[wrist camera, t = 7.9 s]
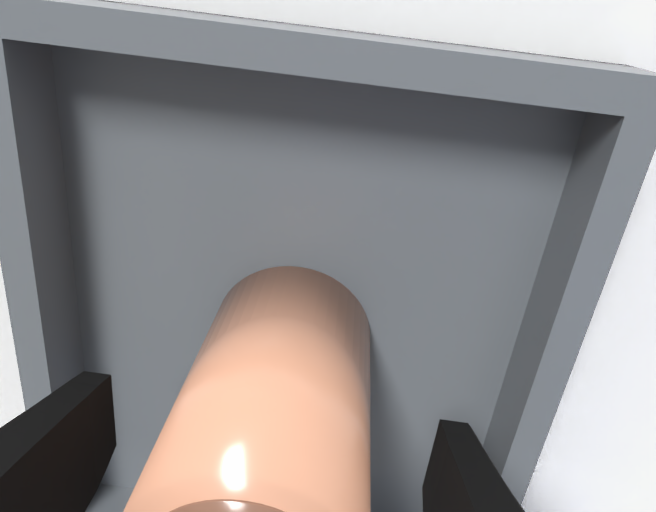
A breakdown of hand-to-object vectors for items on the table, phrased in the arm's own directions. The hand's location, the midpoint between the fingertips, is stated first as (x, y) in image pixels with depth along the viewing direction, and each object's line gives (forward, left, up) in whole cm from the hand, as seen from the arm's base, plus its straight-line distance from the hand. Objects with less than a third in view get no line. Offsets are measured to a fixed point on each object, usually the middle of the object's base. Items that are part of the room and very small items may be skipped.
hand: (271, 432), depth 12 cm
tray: (0, 0, -5) cm, 5 cm away
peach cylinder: (0, 0, -4) cm, 4 cm away
